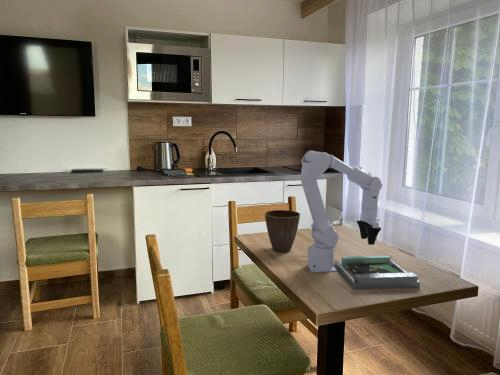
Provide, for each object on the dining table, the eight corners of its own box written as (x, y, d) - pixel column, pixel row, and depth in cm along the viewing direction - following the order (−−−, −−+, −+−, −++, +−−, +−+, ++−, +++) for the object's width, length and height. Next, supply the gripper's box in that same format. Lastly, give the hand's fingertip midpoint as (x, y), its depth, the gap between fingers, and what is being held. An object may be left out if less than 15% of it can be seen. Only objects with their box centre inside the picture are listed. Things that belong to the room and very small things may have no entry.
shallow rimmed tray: (354, 289, 129) (355, 278, 129) (334, 265, 152) (334, 255, 151) (419, 287, 131) (420, 276, 131) (389, 263, 154) (390, 253, 153)
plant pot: (261, 245, 176) (261, 210, 174) (293, 243, 179) (294, 209, 176) (269, 256, 162) (269, 218, 159) (303, 254, 164) (305, 216, 162)
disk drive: (363, 284, 136) (402, 280, 139) (363, 276, 135) (403, 272, 138) (350, 273, 146) (387, 269, 149) (350, 265, 145) (387, 262, 148)
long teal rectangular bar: (343, 269, 147) (343, 258, 147) (341, 266, 150) (341, 256, 149) (390, 267, 149) (390, 257, 148) (387, 265, 151) (388, 255, 151)
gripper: (387, 211, 145) (385, 247, 147) (372, 203, 159) (370, 236, 161) (368, 211, 144) (366, 247, 146) (355, 203, 158) (353, 236, 160)
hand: (367, 241), depth 153 cm, fingers open, 7 cm apart
